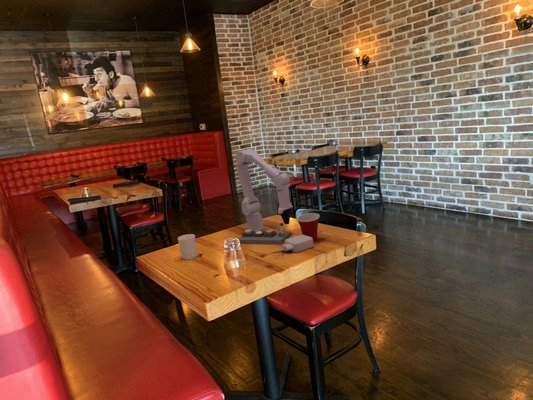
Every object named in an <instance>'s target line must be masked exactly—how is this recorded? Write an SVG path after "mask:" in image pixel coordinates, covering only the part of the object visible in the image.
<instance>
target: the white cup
mask: <svg viewBox="0 0 533 400" xmlns="http://www.w3.org/2000/svg"><path fill="white" fill-rule="evenodd" d="M177 241H178V246H179V251H180V254H181V258H182V259H183V260H184V259H185V260H193V259H196V258H197V256H198V254H197V242H196V235H195V234H194V233H193V234H192V233H189V234H182V235H180V236H178V237H177ZM185 260H184V261H185Z"/></svg>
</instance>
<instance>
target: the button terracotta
mask: <svg viewBox="0 0 533 400" xmlns="http://www.w3.org/2000/svg"><path fill="white" fill-rule="evenodd" d="M265 231H266V232H267V234H272V233H273V231H274V229H272V228H270V229H267V230H265Z"/></svg>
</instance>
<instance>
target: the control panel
mask: <svg viewBox="0 0 533 400" xmlns="http://www.w3.org/2000/svg"><path fill="white" fill-rule="evenodd" d="M261 231H262V233H261V234H256V232H257V231H251V233H250V234H245V231H244V232H242V233H241V236H239V237H238V238H237V239H239V240H240V243H241V244H243V245H246V244H247V245H283V243H284V244H285V240H286V239H289V238H291V236H292V231H290V230H289V231H287V230H286V231H284V230H282V233H280V230H278V231H277V230H273V233H272V234H267V232H266V230H261ZM241 244H240V245H241Z"/></svg>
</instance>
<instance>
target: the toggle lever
mask: <svg viewBox="0 0 533 400" xmlns="http://www.w3.org/2000/svg"><path fill="white" fill-rule="evenodd" d="M279 227H280V228H279V229H280V230H279V231H280V233H282V231H283V227H284V222H280V223H279Z"/></svg>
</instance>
